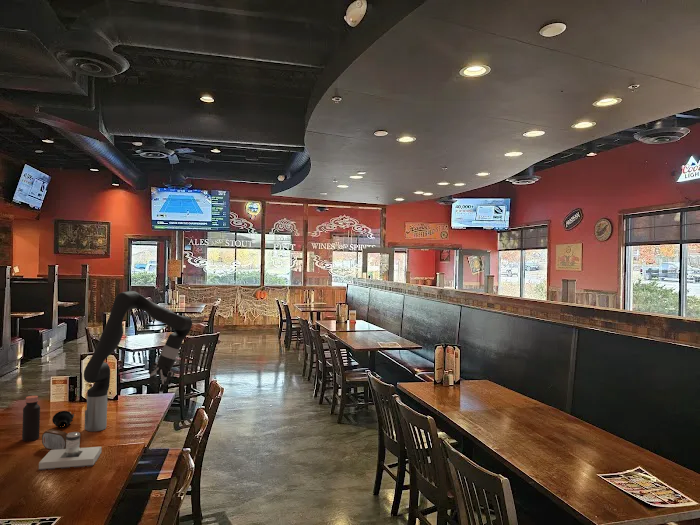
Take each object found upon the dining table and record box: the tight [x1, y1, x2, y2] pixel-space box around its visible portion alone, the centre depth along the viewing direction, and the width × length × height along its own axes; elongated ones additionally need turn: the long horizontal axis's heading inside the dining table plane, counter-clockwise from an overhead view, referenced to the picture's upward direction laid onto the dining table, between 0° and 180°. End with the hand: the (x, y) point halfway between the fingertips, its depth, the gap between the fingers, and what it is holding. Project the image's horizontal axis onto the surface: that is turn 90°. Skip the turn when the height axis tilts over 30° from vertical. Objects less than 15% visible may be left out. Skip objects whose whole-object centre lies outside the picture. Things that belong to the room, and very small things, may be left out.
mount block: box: [38, 446, 102, 471], centre depth 203 cm, size 20×14×3 cm
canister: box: [65, 431, 82, 458], centre depth 203 cm, size 5×5×11 cm
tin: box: [41, 428, 68, 450], centre depth 216 cm, size 15×3×8 cm, turn 71°
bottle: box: [21, 395, 41, 442], centre depth 228 cm, size 7×7×20 cm
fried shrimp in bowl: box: [51, 410, 75, 429], centre depth 249 cm, size 9×11×18 cm
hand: (155, 387), depth 228 cm, fingers open, 8 cm apart
